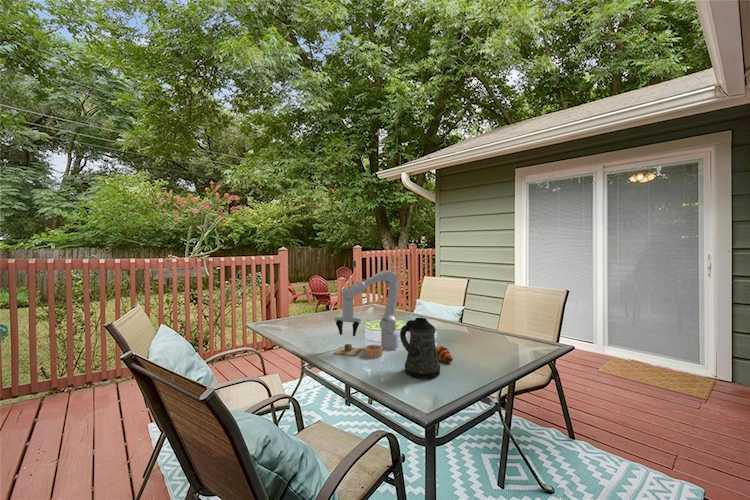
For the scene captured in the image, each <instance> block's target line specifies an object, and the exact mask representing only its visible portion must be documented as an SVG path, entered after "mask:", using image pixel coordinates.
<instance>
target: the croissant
mask: <svg viewBox="0 0 750 500" xmlns="http://www.w3.org/2000/svg"><path fill="white" fill-rule="evenodd" d="M435 346H436V352H437V357H438V361H441V362H443V363H450V362H453V356H452V355H451V352H450V350H449V349H448V348H447V347H446V346H443V345H435Z"/></svg>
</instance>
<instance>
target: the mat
mask: <svg viewBox="0 0 750 500" xmlns="http://www.w3.org/2000/svg"><path fill="white" fill-rule="evenodd" d="M341 347H342V346H340V347H339V348H337V350H339V349H340V348H341ZM362 350H363V348H361V349H360V350H359V352H358V353H357V354H356V355H355V356H354V357H355V358H356V357H357V356H358V355H359V354H360V353H361V352H362ZM335 352H336V351H334V352H333V353H332V355H333V356H334V355H336V356H345V357H353V356H352V355H342V354H335Z"/></svg>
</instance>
